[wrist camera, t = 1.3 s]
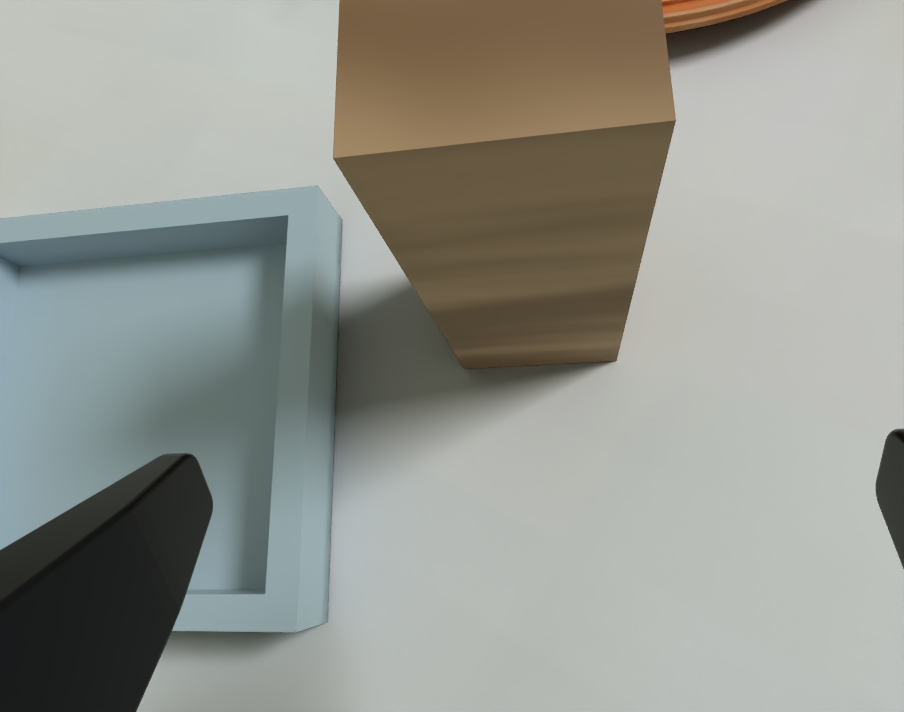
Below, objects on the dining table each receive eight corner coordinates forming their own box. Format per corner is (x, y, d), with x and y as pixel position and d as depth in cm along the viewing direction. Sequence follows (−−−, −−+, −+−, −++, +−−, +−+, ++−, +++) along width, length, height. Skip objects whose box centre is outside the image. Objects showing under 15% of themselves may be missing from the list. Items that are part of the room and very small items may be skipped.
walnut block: (616, 360, 22) (675, 120, 9) (464, 369, 22) (332, 158, 10) (607, 248, 23) (649, -103, 10) (462, 259, 23) (341, -52, 11)
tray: (327, 622, 21) (296, 632, 19) (-55, 619, 23) (-126, 627, 21) (342, 219, 25) (317, 185, 22) (12, 250, 27) (-41, 222, 25)
